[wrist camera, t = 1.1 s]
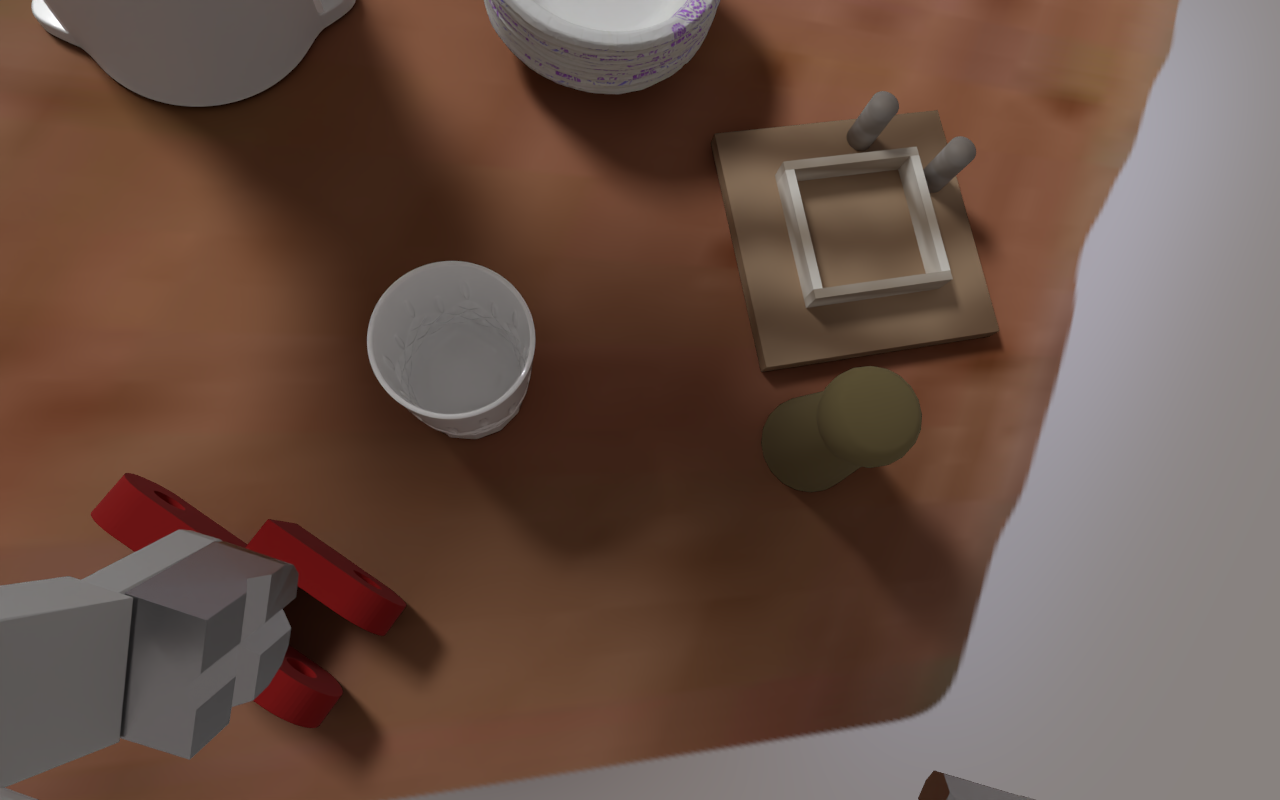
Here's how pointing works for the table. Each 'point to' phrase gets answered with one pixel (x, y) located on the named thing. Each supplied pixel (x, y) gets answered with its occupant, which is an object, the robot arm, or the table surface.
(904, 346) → the peg board
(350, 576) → the mechanical linkage
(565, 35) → the paper bowls
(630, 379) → the table surface
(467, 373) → the white cup
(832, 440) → the olive brown peg
